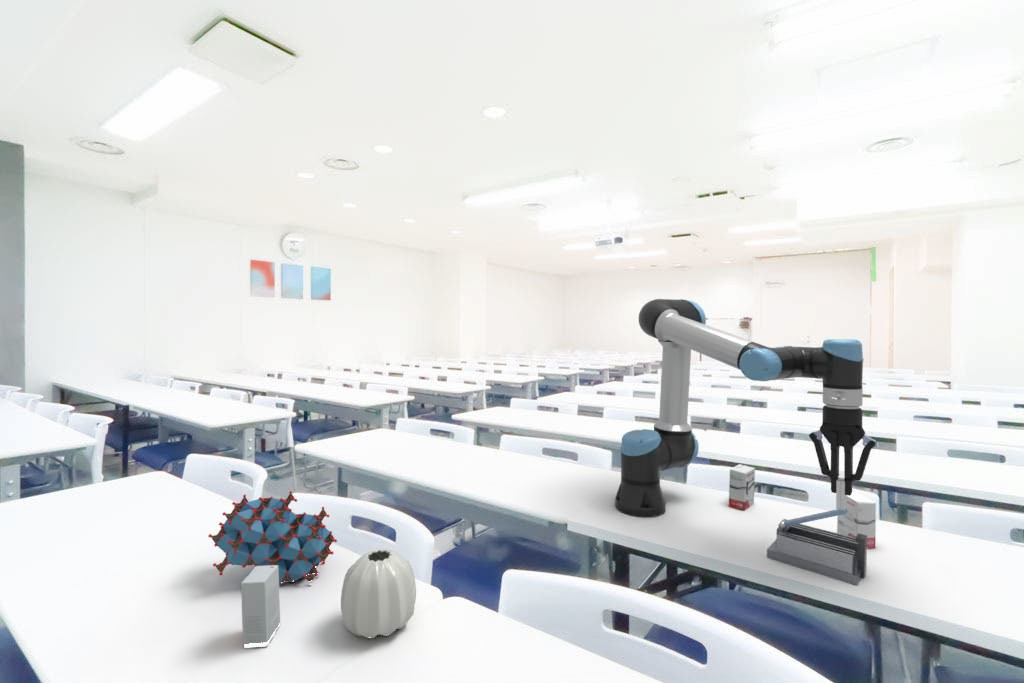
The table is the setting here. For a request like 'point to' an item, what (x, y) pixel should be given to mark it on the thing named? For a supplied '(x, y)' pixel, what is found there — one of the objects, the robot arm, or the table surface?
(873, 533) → the ink box
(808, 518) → the blue long flat bar
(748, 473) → the ink box
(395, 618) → the vase
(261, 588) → the skincare box
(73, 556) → the table surface
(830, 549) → the heatsink
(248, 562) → the molecule model
